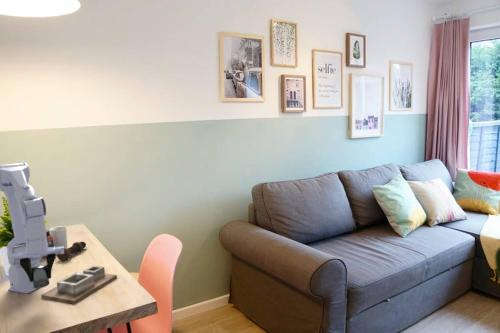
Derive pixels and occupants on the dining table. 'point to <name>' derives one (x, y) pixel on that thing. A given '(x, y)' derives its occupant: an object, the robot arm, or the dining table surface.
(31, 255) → the robot arm
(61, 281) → the fitting board
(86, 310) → the dining table surface
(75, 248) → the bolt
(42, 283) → the gray metal cylinder
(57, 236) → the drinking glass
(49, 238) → the supplement bottle
